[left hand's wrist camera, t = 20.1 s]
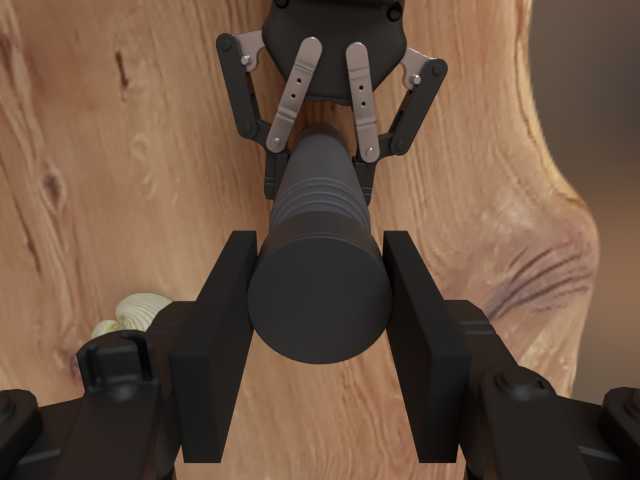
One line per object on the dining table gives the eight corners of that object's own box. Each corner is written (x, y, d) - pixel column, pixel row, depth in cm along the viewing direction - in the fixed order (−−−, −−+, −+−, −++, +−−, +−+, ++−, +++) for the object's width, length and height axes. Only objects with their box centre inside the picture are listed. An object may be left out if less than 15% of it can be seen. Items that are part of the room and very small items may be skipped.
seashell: (133, 272, 36) (193, 343, 34) (175, 290, 44) (225, 348, 42) (55, 342, 35) (112, 420, 33) (113, 347, 43) (161, 410, 41)
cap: (391, 310, 15) (403, 351, 13) (275, 332, 15) (267, 375, 13) (370, 197, 14) (379, 222, 11) (242, 224, 14) (228, 253, 12)
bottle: (321, 111, 34) (322, 195, 12) (357, 151, 35) (420, 295, 13) (282, 149, 35) (218, 290, 13) (318, 187, 36) (317, 375, 14)
